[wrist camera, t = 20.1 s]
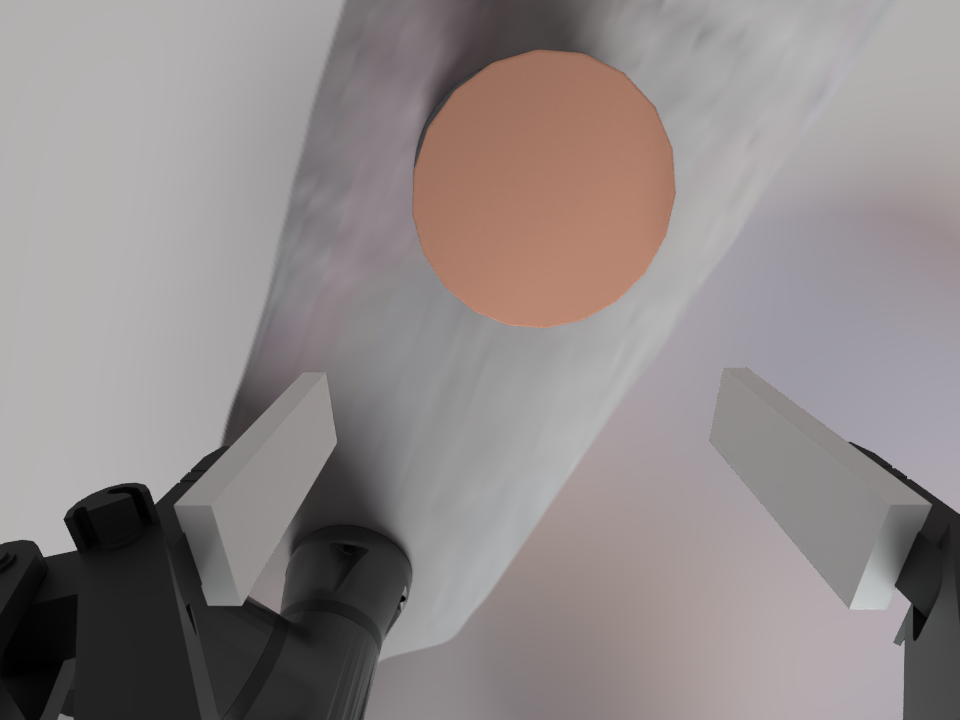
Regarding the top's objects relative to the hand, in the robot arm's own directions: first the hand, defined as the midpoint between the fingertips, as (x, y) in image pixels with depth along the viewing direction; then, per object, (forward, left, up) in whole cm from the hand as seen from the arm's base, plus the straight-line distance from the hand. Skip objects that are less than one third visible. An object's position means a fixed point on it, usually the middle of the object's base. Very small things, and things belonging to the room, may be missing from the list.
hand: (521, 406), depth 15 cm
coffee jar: (+4, +4, -24) cm, 25 cm away
